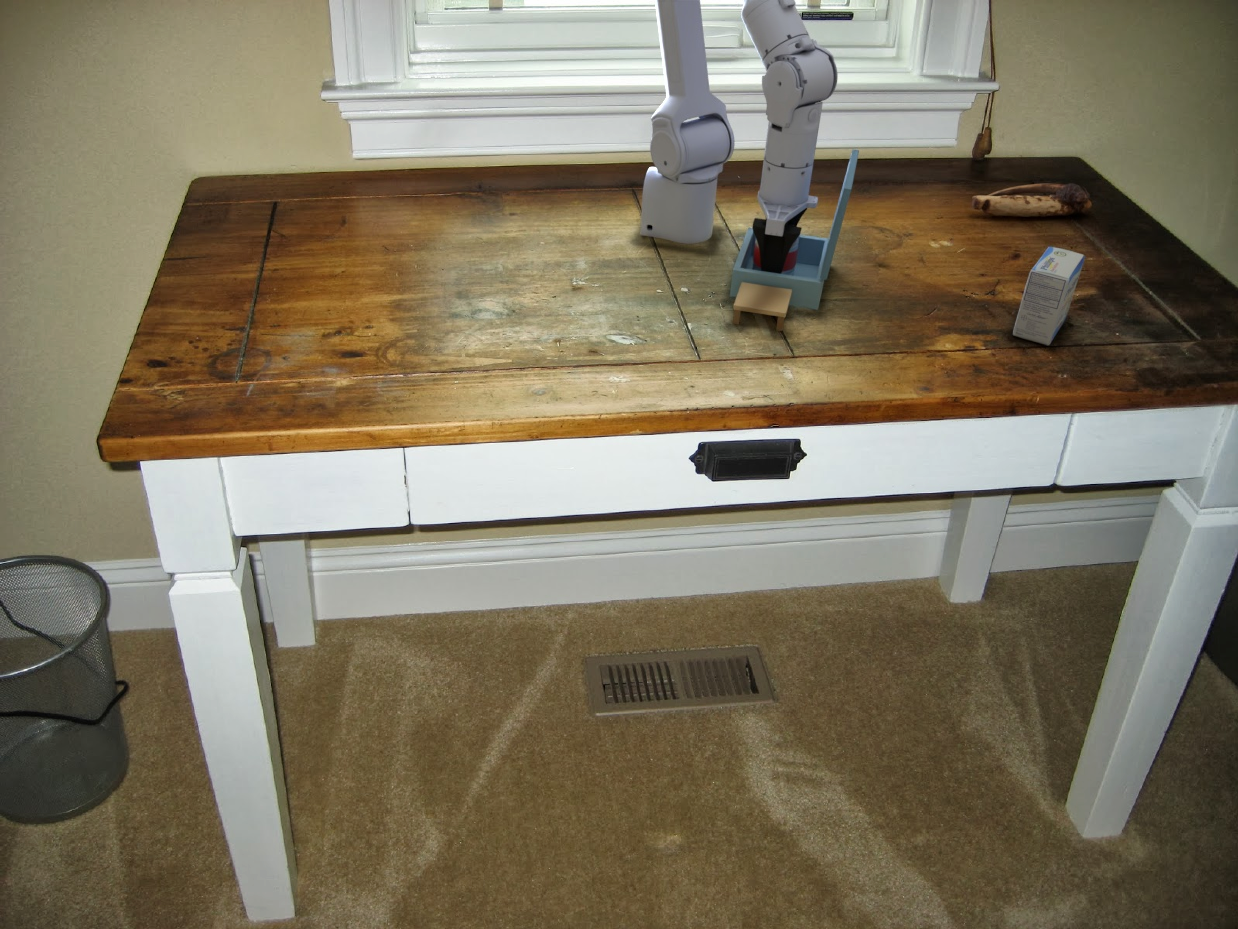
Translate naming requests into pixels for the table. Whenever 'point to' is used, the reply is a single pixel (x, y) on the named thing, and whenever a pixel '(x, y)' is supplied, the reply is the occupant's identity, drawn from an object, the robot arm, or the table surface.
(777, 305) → the stool
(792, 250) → the can
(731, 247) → the table surface
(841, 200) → the lid
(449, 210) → the table surface
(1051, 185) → the lashed bone hook
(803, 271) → the cooler
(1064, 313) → the medicine box
